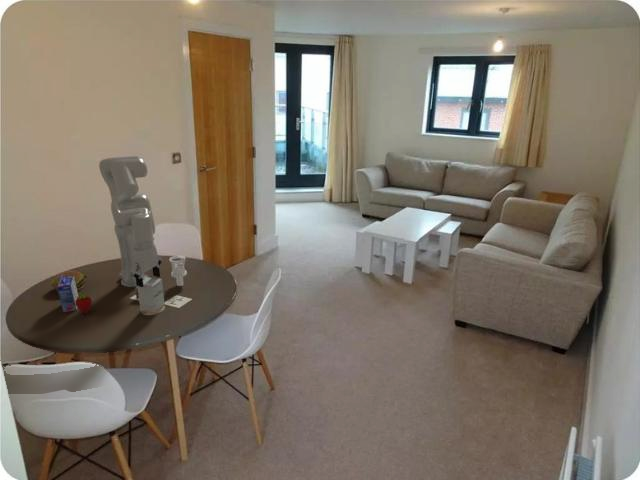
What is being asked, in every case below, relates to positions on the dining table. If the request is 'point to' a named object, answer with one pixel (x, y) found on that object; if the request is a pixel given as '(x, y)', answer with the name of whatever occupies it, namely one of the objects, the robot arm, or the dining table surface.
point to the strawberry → (83, 303)
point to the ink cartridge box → (67, 293)
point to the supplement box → (151, 295)
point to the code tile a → (177, 301)
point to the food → (77, 276)
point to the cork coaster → (152, 312)
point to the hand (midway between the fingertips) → (148, 281)
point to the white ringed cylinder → (178, 269)
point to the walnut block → (136, 292)
